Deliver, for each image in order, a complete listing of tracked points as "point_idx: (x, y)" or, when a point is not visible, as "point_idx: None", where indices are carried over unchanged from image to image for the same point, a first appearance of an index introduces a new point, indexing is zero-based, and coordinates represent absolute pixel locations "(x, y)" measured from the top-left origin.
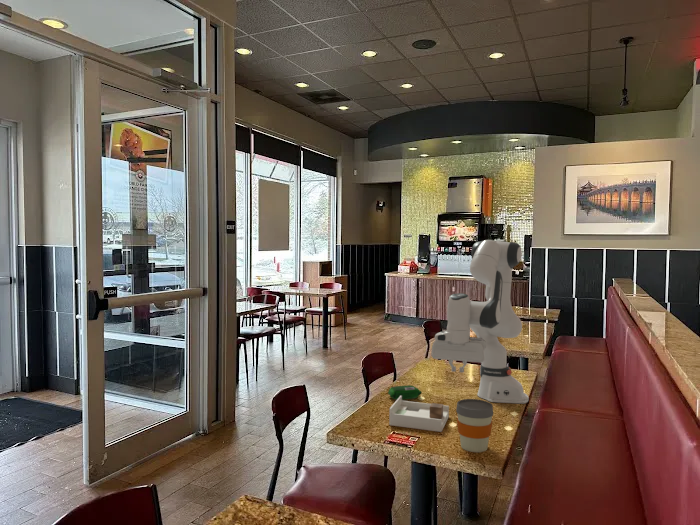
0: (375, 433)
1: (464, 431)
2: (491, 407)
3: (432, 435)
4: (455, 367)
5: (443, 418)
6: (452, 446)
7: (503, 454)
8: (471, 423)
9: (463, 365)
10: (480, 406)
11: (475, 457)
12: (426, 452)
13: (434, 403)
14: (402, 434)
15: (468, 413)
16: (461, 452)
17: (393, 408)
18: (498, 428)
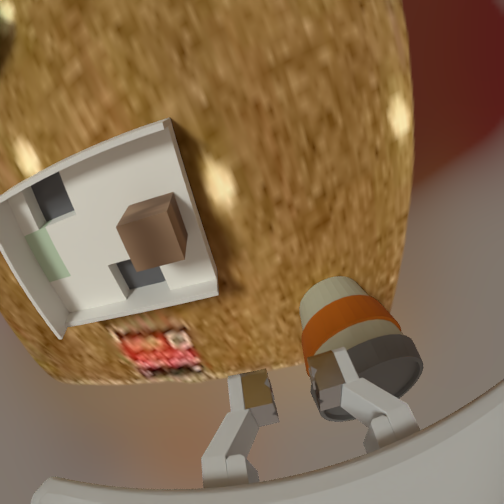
0: (96, 354)
1: None
2: (416, 380)
3: (207, 303)
4: (276, 414)
5: (191, 222)
6: (282, 327)
7: (391, 297)
8: None
9: (365, 423)
10: (388, 380)
11: None
12: (243, 371)
13: (128, 226)
14: (141, 334)
15: None
16: None
17: (47, 308)
18: (375, 137)
